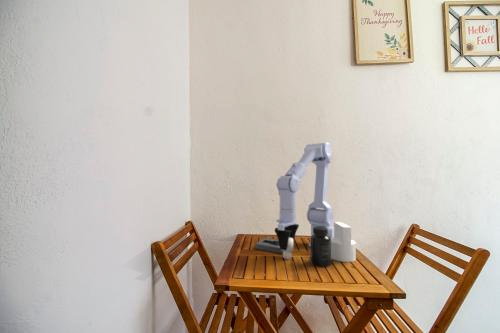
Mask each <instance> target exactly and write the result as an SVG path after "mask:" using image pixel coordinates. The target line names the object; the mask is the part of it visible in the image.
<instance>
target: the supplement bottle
mask: <svg viewBox="0 0 500 333" xmlns="http://www.w3.org/2000/svg"><path fill="white" fill-rule="evenodd" d="M313 233H314V235H312V236H311V235H310V240H309V241H310V242H309V243H310V246H309V247H310V262H311V264H312V265H314V266H316V267H323V268H324V267H329V266H331V264H332V258H331V238H330V237H329V236H328V235H327V234H328V228H326V227H314V228H313Z"/></svg>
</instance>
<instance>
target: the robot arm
mask: <svg viewBox="0 0 500 333" xmlns="http://www.w3.org/2000/svg"><path fill="white" fill-rule="evenodd" d="M303 149H304V150H303V151H304V153H303V154H302V156H301V157H300V159H299V161H298V162H293V163H292V164H291V166H290V168H289V169H288V171H287V172H286V173H285V174H284V175H281V176H279V178H278V179H277V182H276V188H277V191H278V196H279V219H278V218H277V219H276V223H278V224H277V227H275V228H274V233H275V234H276V237H277V240H279V245H280V249H282V250H287V246H288V240H289V237H291V238H293V244H294V242H295V237H296V234H297V231H298V228H299V226H300V225H299V224H298V223H297V221H296V220H297V219H296V209H297V208H296V206H297V205H296V204H297V201H296V200H297V198H296V196H297V195H296V194H297V192H298V190H299V189H300V183H301V181H302V178H303V177H304V175H306V173H307V167H308V166H309V165H310V163H312V164H314V165H315V167H316V170H315V184H314V196H313V201H312V202H311V203H310V204H308V209H307V211H306V218H307V221H308V222H309V225H310V237H311V236H312V235H314V233H313V228H314V227H326V228H328V234H327V235H328V236H329V237H330V238H334V225H333V226H332V225H331V224H332V223H333V221H334V215H333V207H332V206H331V205H330V204H329V203H328V202H327V196H328V195H327V194H328V182H329V181H328V180H329V179H328V178H329V164H330V163H332V154H333V148H332V147H331V144H330V143H329V141H328V142H327V141H325V142H321V143H320V142H319V143H317V142H316V143H307V144H306V145H305V147H304V148H303ZM308 247H310V242H309V243H308Z"/></svg>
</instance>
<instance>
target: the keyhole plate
mask: <svg viewBox="0 0 500 333" xmlns="http://www.w3.org/2000/svg"><path fill="white" fill-rule="evenodd" d="M254 246H255V250H259V251H260V250H261V251H265V252H271V253H277V254H281V255H283V251H282V250H281V249H280V245H279V240H278V239H275V238H270V237H264V238H263V239H261V240H259V241H258V242H256V243H255V244H254Z"/></svg>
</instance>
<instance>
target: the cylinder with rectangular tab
mask: <svg viewBox="0 0 500 333" xmlns="http://www.w3.org/2000/svg"><path fill="white" fill-rule="evenodd" d="M333 227H334V238H331V260H335V261H337V262H345V263H351V262H355V261H356V255H357V254H356V251H357V250H356V241H355V240H353V239H352V226H350V225H348V224H346V223H344V222H342V221H334V223H333Z"/></svg>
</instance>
